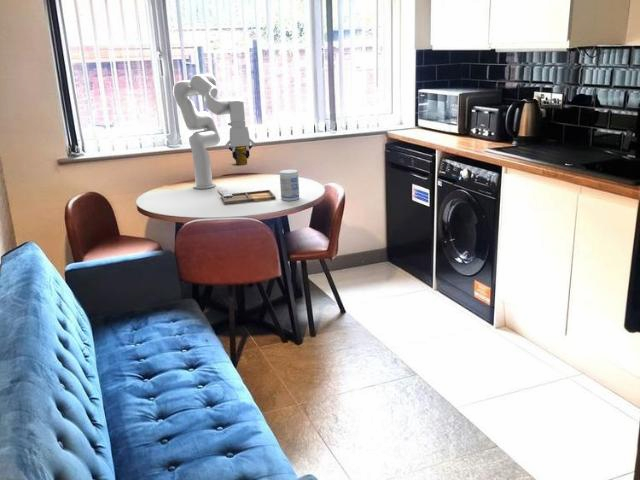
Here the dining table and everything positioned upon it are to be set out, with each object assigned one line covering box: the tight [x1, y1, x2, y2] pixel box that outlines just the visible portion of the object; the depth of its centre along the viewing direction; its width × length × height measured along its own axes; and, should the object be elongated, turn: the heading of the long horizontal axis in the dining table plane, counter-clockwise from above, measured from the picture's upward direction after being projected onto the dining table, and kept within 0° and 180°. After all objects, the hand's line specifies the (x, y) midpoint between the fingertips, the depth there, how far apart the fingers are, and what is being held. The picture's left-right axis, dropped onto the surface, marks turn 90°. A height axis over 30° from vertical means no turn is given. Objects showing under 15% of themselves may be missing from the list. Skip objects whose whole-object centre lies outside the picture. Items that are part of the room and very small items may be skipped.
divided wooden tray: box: [220, 189, 276, 206], centre depth 311 cm, size 16×26×2 cm, turn 105°
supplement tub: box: [279, 169, 300, 202], centre depth 305 cm, size 10×10×15 cm
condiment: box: [230, 146, 250, 167], centre depth 311 cm, size 7×8×12 cm
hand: (241, 158), depth 312 cm, fingers closed on condiment, 6 cm apart
